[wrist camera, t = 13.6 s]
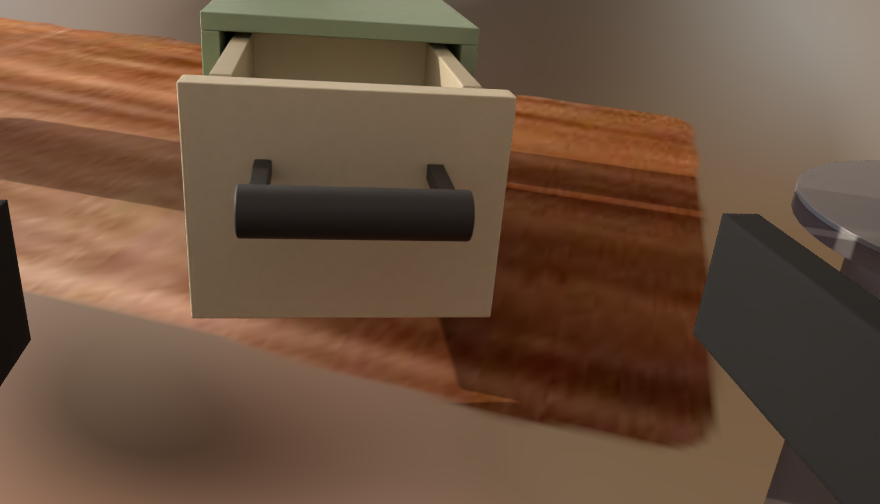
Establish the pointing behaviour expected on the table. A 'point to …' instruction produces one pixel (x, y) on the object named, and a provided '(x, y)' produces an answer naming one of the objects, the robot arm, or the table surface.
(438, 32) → the cabinet
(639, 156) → the table surface
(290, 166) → the drawer
